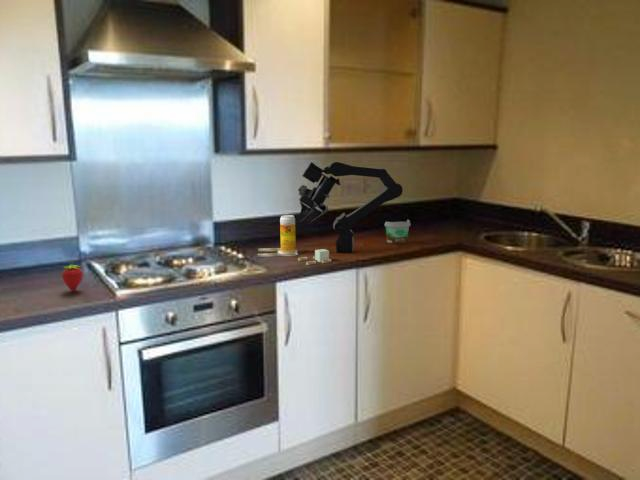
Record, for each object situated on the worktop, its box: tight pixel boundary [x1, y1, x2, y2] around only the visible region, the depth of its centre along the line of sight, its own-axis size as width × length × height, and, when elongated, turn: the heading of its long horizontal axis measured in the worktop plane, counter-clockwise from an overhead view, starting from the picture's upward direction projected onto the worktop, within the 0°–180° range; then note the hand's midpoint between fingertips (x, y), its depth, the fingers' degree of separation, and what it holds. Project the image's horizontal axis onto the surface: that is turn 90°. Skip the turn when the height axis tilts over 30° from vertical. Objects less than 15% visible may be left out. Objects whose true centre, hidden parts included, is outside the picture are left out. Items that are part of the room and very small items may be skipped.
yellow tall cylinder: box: [279, 214, 297, 253], centre depth 225 cm, size 6×6×15 cm
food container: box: [384, 219, 411, 245], centre depth 243 cm, size 12×6×10 cm, turn 114°
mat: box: [277, 249, 299, 256], centre depth 226 cm, size 8×8×1 cm
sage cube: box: [314, 248, 330, 263], centre depth 213 cm, size 4×4×4 cm
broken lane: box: [297, 255, 332, 266], centre depth 212 cm, size 10×8×1 cm
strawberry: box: [61, 262, 84, 293], centre depth 173 cm, size 6×8×10 cm
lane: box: [257, 247, 296, 258], centre depth 226 cm, size 15×11×1 cm
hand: (303, 222), depth 225 cm, fingers open, 9 cm apart
